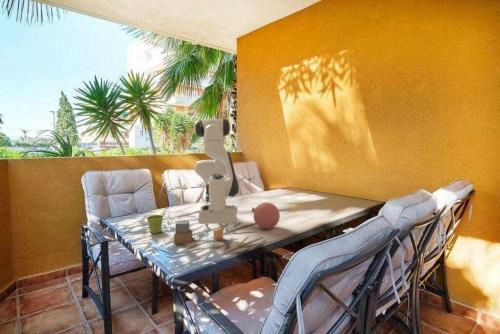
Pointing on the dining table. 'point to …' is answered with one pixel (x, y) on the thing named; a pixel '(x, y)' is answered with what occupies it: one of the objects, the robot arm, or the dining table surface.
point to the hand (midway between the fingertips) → (218, 231)
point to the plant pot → (155, 223)
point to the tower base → (183, 237)
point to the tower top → (182, 227)
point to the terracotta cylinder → (218, 233)
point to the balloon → (266, 215)
